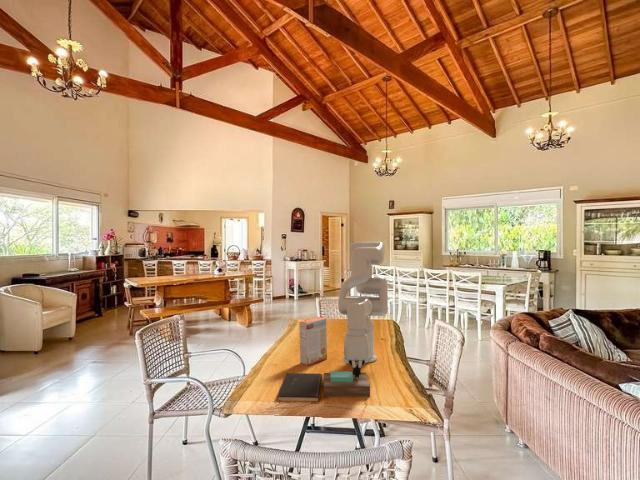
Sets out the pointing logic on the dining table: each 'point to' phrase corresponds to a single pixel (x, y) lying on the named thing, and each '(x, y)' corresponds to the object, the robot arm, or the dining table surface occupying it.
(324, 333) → the cracker box
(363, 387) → the brown flat block
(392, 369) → the dining table surface
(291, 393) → the hardcover book
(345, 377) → the teal rectangular block
